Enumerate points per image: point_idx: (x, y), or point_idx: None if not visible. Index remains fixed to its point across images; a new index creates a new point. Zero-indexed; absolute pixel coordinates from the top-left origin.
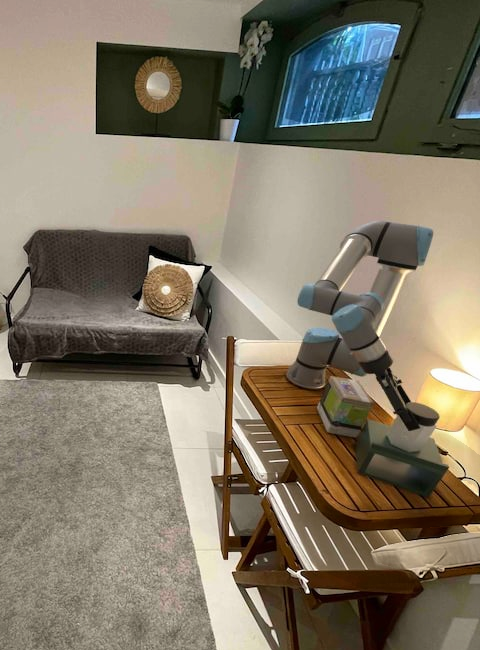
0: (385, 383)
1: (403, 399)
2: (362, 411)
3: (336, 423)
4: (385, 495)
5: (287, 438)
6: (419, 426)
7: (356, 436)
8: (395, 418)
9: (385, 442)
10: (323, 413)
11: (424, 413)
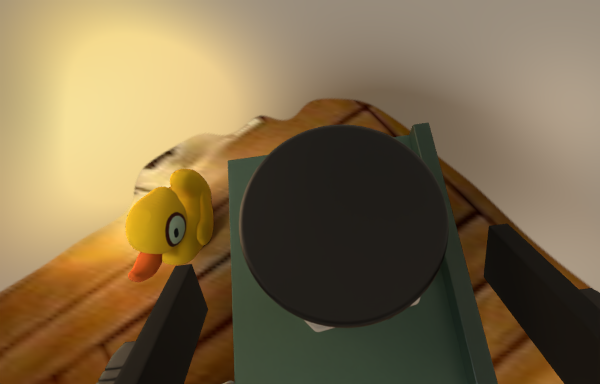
0: None
1: (187, 319)
2: None
3: None
4: (483, 278)
5: None
6: (504, 229)
7: (232, 381)
8: (133, 280)
9: (389, 326)
10: None
11: (382, 204)
